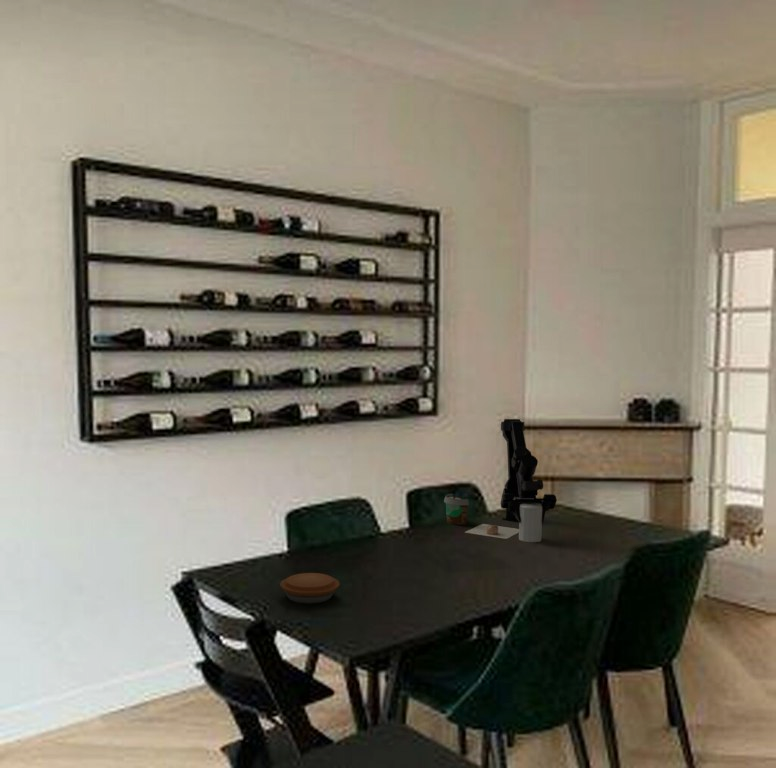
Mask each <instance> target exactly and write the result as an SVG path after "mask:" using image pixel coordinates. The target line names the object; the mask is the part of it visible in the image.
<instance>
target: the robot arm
mask: <svg viewBox="0 0 776 768" xmlns="http://www.w3.org/2000/svg"><path fill="white" fill-rule="evenodd" d="M500 430H501V431H502V432H501V433H502V437H503V438H504V440H505V441H506V450H507V451H506V456H507V473H508V474H507V476H508V479H507V480H506V483H504V488H503V489H502V494H501V499H500V509H504V510H505V516H504V517H502V520H504V519H505V521H511V522H518V523H520V522H521V518H520V505H521V504H527V503H529V504H538V505H541V506H542V524H543V523H544V520H545V516H546V512H548V511H549V510H553V509H555V507H556V504H557V496H556V495H555V494H554V493H548V494H547V493H544V494H543V497H542V498H541V497H537V496H538V493H539V492H538V491H539V490H543V489H544V481H543V479H536V480H534V475H535V474H536V470H537V466H538V463H539V462H538V458H537V457H536V456H534V455H533V454H532V451H530V450H529V449H528V448H527V445H526V444H527V443H526V440H525V439H526V438H525V434H524V432H525V421H522V420H521V419H520V418H504V419H503V421H501V423H500Z"/></svg>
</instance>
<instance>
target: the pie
mask: <svg viewBox="0 0 776 768" xmlns="http://www.w3.org/2000/svg"><path fill="white" fill-rule="evenodd" d="M279 585H280V587H281V589H282V590H283V592H284V593H285V595H286V596H287V599H289V600H290V601H292V602H294V603H298V604H308V605H309V604H319V603H324V602H326V601H328V600H330V599H331V598H332V596H333V594H335V591H336V590H337V589H338V588H339V587H340V585H341V584H340V581H339V579H337V578H334V577H332V576H330V575H328V574H325V573H318V572H303V573H296V574H293V575H290V576H288V577H287V578H285V579H283V580H282V581H280V584H279Z"/></svg>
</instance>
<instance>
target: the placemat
mask: <svg viewBox="0 0 776 768" xmlns="http://www.w3.org/2000/svg"><path fill="white" fill-rule="evenodd" d="M488 525H489V524H487V523H482V524H479V525H477V526H475V527H473V528H470V529H468V530H466V531H464V533H465V534H472V535H479V536H486V537H493V538H498V539H499V538H500V539H503V540H508V539H510V538H511V537H513V536H515V535H517V534H519V528H514V527H509V526H507V527H506V526H502V525H501V526H499V525H497V526H498V534H497V535H489V534H487V526H488Z"/></svg>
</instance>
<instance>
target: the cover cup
mask: <svg viewBox="0 0 776 768" xmlns="http://www.w3.org/2000/svg"><path fill="white" fill-rule="evenodd" d="M520 518H521V522H520V523H519V522H518V523H519V524H518V529H519V533H518V539H519V541H522V542H524V543H538V542H539V543H540V542H541V541H542V529H543V525H542V524H543V523H542V506H541V504H529V503H527V504H521V505H520Z"/></svg>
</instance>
